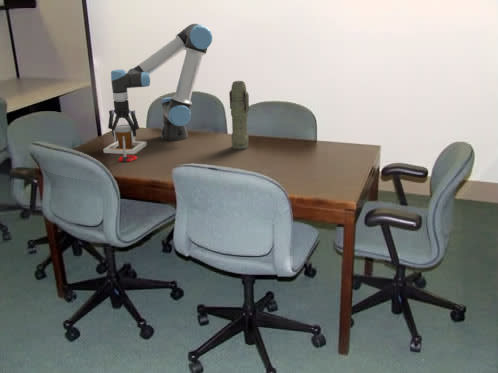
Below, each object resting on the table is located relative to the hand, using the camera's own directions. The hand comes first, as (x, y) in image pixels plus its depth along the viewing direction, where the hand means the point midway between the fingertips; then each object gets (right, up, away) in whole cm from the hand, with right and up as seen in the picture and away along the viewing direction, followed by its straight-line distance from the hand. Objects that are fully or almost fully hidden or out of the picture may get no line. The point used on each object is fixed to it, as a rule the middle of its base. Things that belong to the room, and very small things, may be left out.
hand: (125, 141), depth 296 cm
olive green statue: (+61, -3, +1) cm, 61 cm away
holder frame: (0, -4, +1) cm, 4 cm away
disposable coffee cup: (0, -4, +1) cm, 4 cm away
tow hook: (+5, -10, -16) cm, 20 cm away
